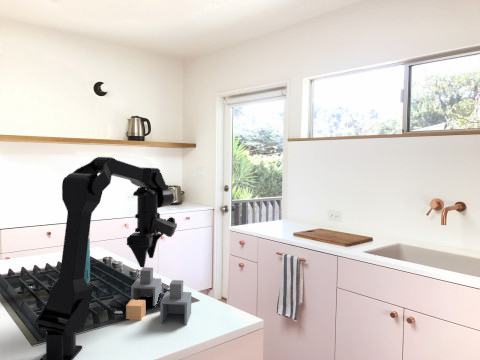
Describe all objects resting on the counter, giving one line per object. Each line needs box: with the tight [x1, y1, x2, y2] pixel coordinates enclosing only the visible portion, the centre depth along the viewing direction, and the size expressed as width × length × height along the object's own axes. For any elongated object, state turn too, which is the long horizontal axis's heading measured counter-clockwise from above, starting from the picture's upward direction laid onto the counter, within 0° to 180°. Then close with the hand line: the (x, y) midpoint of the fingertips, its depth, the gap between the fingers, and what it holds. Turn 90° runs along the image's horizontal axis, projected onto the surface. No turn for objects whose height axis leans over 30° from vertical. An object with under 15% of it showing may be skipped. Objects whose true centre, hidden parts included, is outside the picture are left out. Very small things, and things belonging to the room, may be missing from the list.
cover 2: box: [159, 279, 192, 326], centre depth 98 cm, size 7×7×10 cm
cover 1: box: [130, 266, 162, 307], centre depth 108 cm, size 7×7×10 cm
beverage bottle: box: [84, 238, 91, 284], centre depth 119 cm, size 6×7×20 cm
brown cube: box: [125, 298, 147, 321], centre depth 99 cm, size 4×4×4 cm
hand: (146, 262), depth 108 cm, fingers open, 9 cm apart
